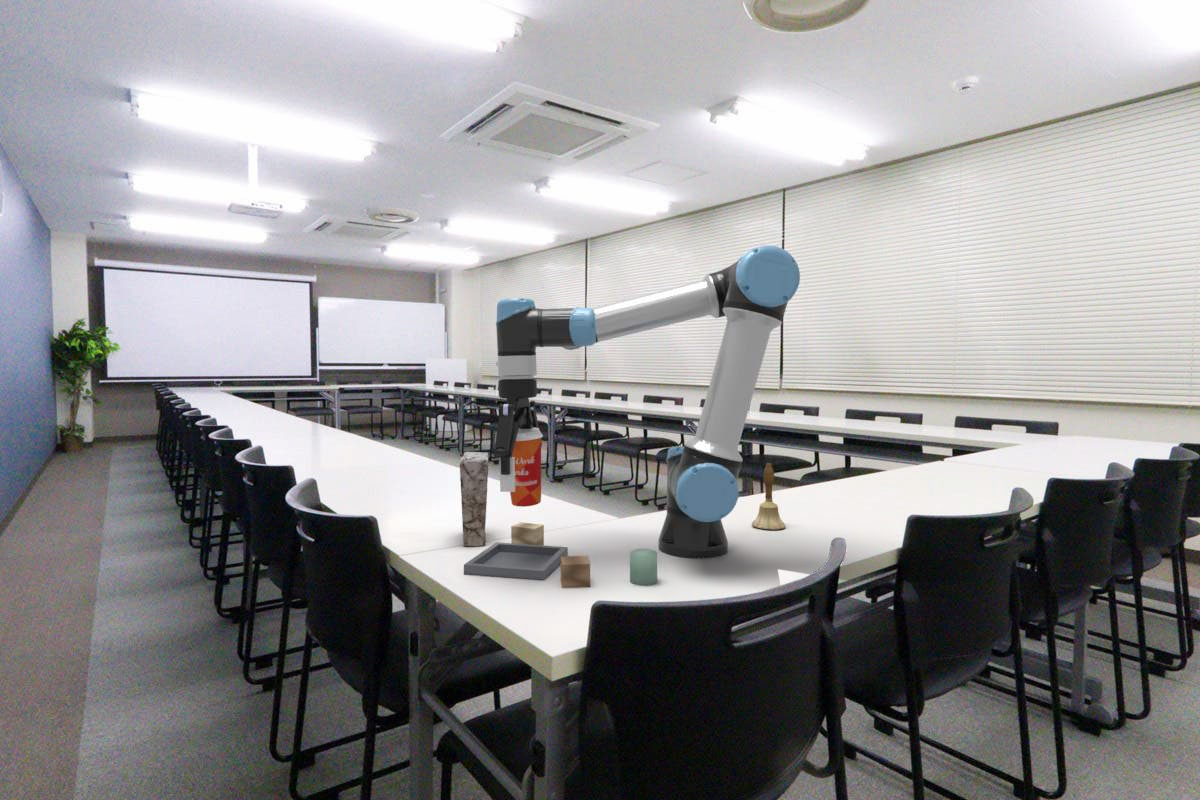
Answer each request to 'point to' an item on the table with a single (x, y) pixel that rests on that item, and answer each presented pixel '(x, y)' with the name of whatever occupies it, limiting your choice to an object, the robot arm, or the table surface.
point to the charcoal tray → (516, 561)
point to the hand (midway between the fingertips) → (520, 485)
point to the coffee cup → (527, 468)
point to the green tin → (643, 567)
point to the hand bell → (768, 505)
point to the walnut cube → (575, 571)
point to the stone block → (474, 497)
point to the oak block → (527, 534)
